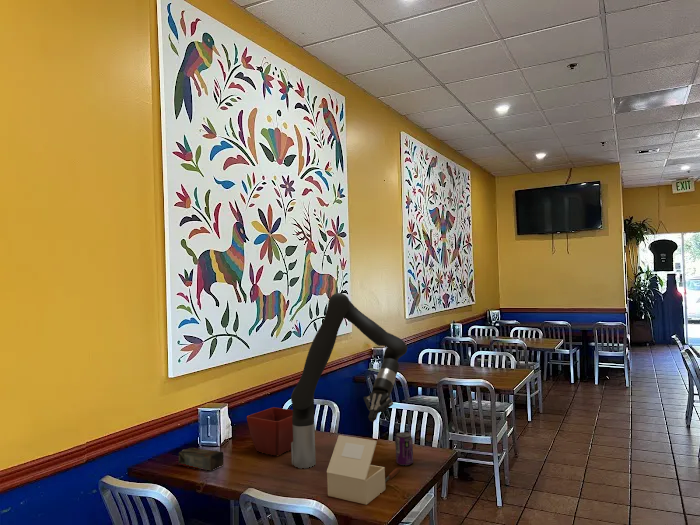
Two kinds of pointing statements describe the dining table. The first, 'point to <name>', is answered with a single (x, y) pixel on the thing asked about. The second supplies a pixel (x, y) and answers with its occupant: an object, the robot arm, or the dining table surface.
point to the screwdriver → (392, 474)
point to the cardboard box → (357, 486)
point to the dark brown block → (201, 458)
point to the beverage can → (404, 448)
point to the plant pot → (271, 430)
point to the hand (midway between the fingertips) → (371, 420)
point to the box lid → (352, 457)
